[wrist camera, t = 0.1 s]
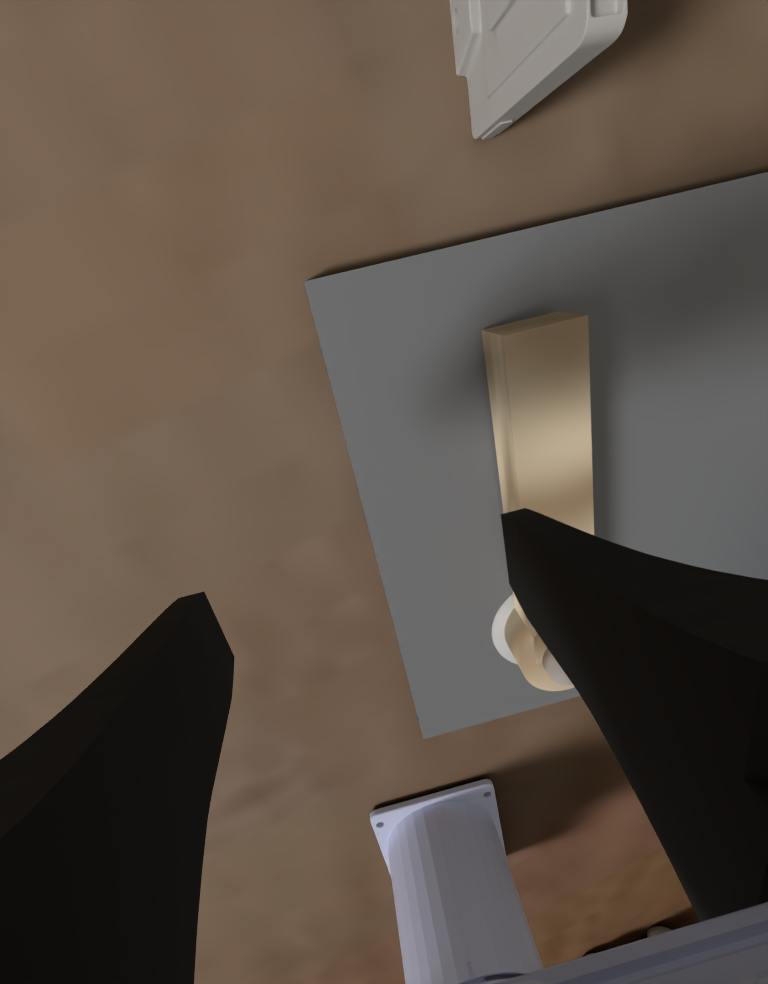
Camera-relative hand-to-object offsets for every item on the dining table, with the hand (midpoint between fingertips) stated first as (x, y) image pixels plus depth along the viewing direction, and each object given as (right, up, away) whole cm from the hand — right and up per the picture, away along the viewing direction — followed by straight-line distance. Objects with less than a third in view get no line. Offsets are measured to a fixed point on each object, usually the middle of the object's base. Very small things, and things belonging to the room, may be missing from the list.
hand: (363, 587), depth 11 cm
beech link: (+7, +1, +10) cm, 13 cm away
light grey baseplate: (+12, +2, +12) cm, 17 cm away
